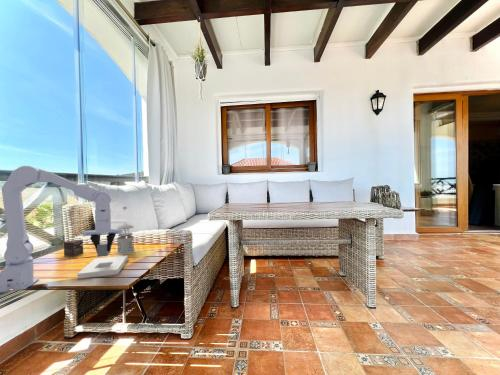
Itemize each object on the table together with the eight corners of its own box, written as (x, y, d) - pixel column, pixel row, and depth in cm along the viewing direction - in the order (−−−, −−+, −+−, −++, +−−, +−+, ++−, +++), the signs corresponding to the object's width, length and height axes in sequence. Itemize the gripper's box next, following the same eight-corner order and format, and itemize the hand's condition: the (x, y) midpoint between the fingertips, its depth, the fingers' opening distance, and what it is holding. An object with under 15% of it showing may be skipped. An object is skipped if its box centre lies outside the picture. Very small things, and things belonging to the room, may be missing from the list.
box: (73, 256, 121) (72, 242, 121) (63, 256, 123) (63, 242, 123) (83, 253, 127) (83, 239, 127) (74, 252, 129) (74, 239, 128)
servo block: (106, 256, 99) (106, 244, 99) (97, 256, 98) (97, 245, 98) (110, 252, 104) (109, 241, 104) (101, 253, 103) (100, 242, 103)
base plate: (117, 274, 95) (117, 269, 95) (77, 278, 91) (77, 273, 91) (128, 259, 115) (127, 255, 114) (95, 262, 110) (95, 258, 110)
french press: (114, 255, 121) (112, 207, 121) (117, 250, 132) (116, 206, 132) (135, 253, 125) (134, 206, 125) (136, 248, 136) (135, 205, 136)
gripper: (123, 217, 107) (124, 247, 107) (87, 219, 103) (87, 250, 103) (120, 220, 100) (120, 251, 100) (80, 222, 96) (81, 255, 96)
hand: (103, 251), depth 101 cm, fingers closed on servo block, 3 cm apart
